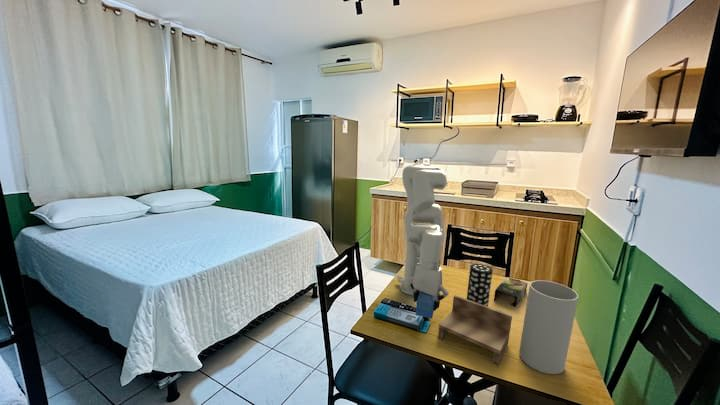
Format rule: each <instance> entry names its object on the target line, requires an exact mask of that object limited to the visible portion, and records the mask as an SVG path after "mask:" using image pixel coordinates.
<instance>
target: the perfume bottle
mask: <svg viewBox="0 0 720 405" xmlns="http://www.w3.org/2000/svg"><path fill="white" fill-rule="evenodd" d="M434 301H435V298H434V296H432V295H430V294H427V293H425V292H422V291H420V293H419V296H418V299H417V301H416V305H415V307H416V308H415V315H416V316H418V317H423V318H427V319H433V316H434V312H435V311H434V310H433V306H434Z"/></svg>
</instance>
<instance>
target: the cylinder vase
mask: <svg viewBox="0 0 720 405" xmlns="http://www.w3.org/2000/svg"><path fill="white" fill-rule="evenodd" d="M526 299H527V301H526V306H525V313H524V319H523V326H522V331H521V332H522V333H521V338H520V344H519V351H518V353H519V357H520V358H521V359H522V360H523V362H524V363H525V364H526V365H527V366H529V367H530V368H532V369H534V370H536V371H538V372H540V373H542V374H547V375H559V374H562V373H563V372H564V371H565V367H566V363H567V357H568V353H569V347H570V343H571V336H572V331H573V327H574V321H575V315H576V311H577V306H578V302H579V301H578V300H579V294H578V293H577V292H576V291H575V290H574V289H572V288H570V287H569V286H567V285H564V284H561V283H558V282H555V281H550V280H542V279H541V280H539V279H538V280H532V281H531V282H530V283H529V287H528V294H527V298H526Z"/></svg>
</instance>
